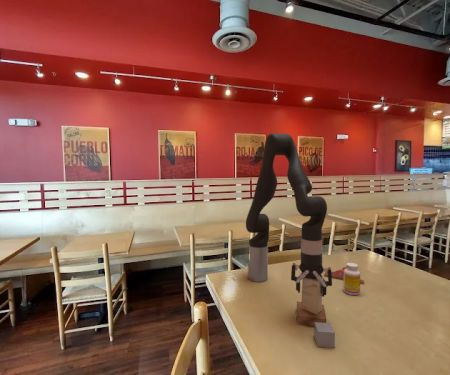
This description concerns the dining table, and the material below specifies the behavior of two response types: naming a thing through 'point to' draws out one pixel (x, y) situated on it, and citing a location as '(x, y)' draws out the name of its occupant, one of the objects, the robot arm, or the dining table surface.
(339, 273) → the pepperoni pizza slice
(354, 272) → the supplement bottle
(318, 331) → the grey cube
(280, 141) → the robot arm
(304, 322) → the walnut block
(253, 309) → the dining table surface
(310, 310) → the skincare box
